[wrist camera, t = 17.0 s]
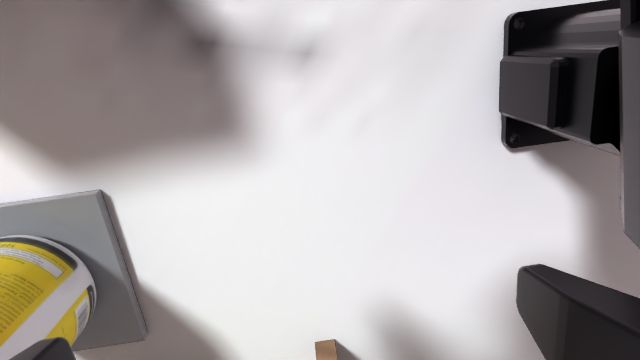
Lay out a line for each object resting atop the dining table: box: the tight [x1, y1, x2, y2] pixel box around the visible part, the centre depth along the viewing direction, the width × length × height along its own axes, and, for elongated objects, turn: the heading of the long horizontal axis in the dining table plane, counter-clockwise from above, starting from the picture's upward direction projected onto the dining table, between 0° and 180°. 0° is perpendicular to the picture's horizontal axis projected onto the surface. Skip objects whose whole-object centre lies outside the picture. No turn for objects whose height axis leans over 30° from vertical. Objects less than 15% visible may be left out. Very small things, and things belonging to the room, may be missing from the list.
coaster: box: [0, 190, 148, 351], centre depth 21 cm, size 9×9×1 cm
